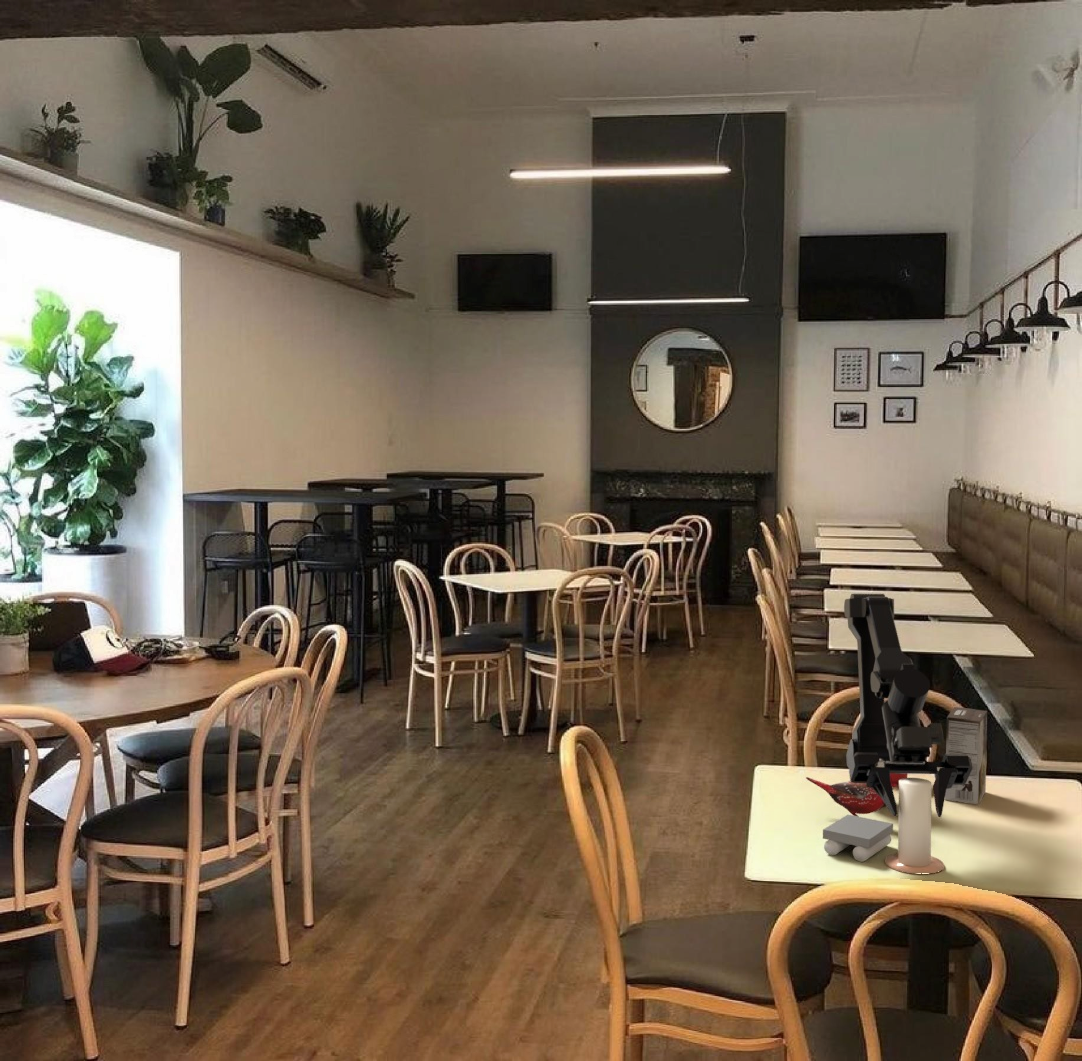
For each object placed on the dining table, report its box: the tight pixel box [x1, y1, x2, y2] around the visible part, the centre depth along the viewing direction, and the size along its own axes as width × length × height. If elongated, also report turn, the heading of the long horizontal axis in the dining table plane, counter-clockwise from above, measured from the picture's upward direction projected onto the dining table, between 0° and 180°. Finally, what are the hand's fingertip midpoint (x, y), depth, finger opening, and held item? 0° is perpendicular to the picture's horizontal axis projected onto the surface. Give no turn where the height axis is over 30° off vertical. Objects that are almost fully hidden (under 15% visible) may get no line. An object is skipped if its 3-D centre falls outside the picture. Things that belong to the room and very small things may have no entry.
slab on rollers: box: [822, 814, 894, 863], centre depth 203 cm, size 8×10×4 cm
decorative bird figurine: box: [805, 775, 898, 817], centre depth 218 cm, size 3×18×10 cm, turn 50°
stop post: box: [897, 777, 933, 867], centre depth 196 cm, size 5×5×13 cm
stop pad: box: [884, 852, 945, 875], centre depth 196 cm, size 9×9×1 cm
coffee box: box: [944, 707, 988, 805], centre depth 232 cm, size 9×6×16 cm
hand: (917, 815), depth 194 cm, fingers open, 7 cm apart
